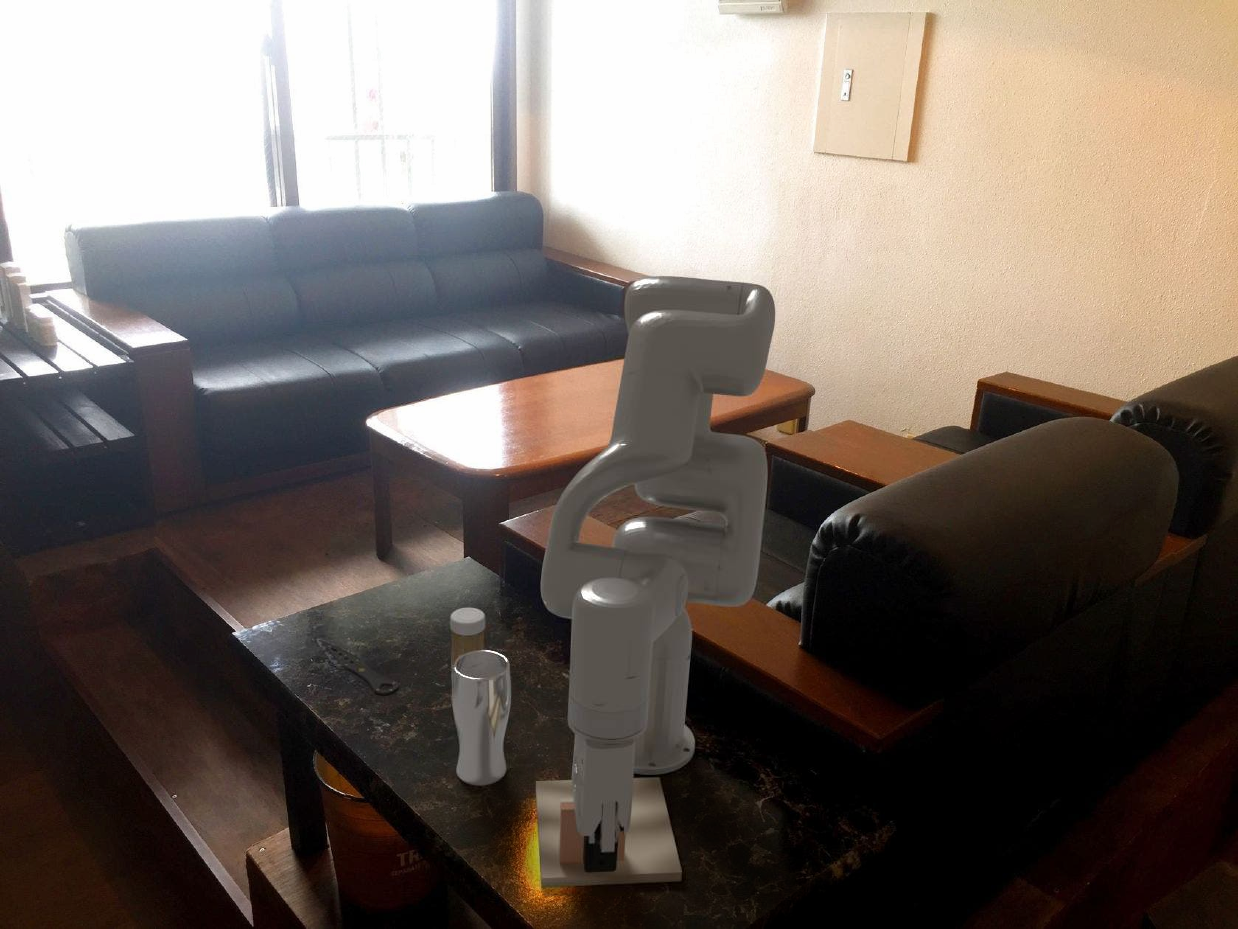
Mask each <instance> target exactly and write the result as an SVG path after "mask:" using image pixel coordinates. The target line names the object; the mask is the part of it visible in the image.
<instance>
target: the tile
mask: <svg viewBox="0 0 1238 929" xmlns="http://www.w3.org/2000/svg"><path fill="white" fill-rule="evenodd" d="M625 838H626V834H624V835H623V834H622V832H621V833H620V827H618V851H617V861H624V853H625ZM583 846H584V836H582V835H581V834H580V833H579V832H578V830H577V825H576V817H575V809H574V800H573V798H561V799H560V821H559V849H558V853H559V863H576V862H583Z"/></svg>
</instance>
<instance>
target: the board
mask: <svg viewBox="0 0 1238 929" xmlns="http://www.w3.org/2000/svg"><path fill="white" fill-rule="evenodd" d="M561 798H573V790H572V779H567V780H566V779H565V780H564V779H563V780H561V779H560V780H536V781H535V801H536V802H535V803H536V817H537V819H536V820H537V838H538V854H539V868H540V870H539V871H540V872H539V873H540V888H556V887H576V886H598V885H602V886H603V885H625V884H644V883H648V884H649V883H667V882H681V881H682V878H683V876H682V875H683V871H682V866H681V862H680V859H679V854H678V848H677V846H676V842H675V836H674V833H673V830H672V829H673V828H672V824H671V820H670V817H669V812H668V807H667V803H666V800H665V796H664V791H663V786H662V783H661V778H660V777H657V776H656V777H634V778H633V795H632V809H631V820H630V827H629V830H628V832H627V833H626V838H625V853H624V861H617V866H616V870H615V871H613V872H591V873H587V872H585V871H584V863H583V862H576V863H559V853H558V849H559V821H560V799H561Z"/></svg>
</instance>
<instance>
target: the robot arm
mask: <svg viewBox="0 0 1238 929" xmlns="http://www.w3.org/2000/svg"><path fill="white" fill-rule="evenodd" d="M624 297H625V298H624V318H625V324H626V328H627V334H628V337H627V343H626V348H625V354H624V361H623V365H622V371H621V376H620V377H621V378H620V384H619V388H618V394H617V398H616V399H617V401H616V406H615V411H614V417H613V422H612V431H611V436H610V439H609V443H608V444H607V446H606V447H605V448H604V449H603V450H602V451H601V452H600V453H598V455H596V456H595V457H594V458H593V459H591V460H590V461H588V463H586V464H585V465H584V466H583V467H582V468H581V469H580V470H578V472H577V473H576V474H575V476H574V477H573V478H572V479H571V481H570V482H569V483H568V485H567V486H566V487H565V489H564V491H563V492H562V494H561V496H560V497H559V499H558V501H557V503H556V506H555V509H554V511H553V514H552V517H551V522H550V526H549V532H548V537H547V543H546V547H545V552H544V557H543V562H542V567H541V578H540V594H541V599H542V602H543V604H544V606H545V608H546V609H547V610H548V611H549V612H550V613H552V614H553V615H556V616H558V617H561V618H564V619H569V620H571V630H570V632H571V633H570V634H571V635H570V637H571V638H570V659H569V660H570V661H569V662H570V663H569V684H568V685H569V686H568V687H569V688H568V701H567V702H568V703H567V704H568V706H567V724H568V727H569V728H570V730H571V731H572V732H573V733H574V744H573V745H574V746H573V760H572V769H571V770H572V771H571V780H572V790H573V800H574V809H575V817H576V825H577V830H578V832H579V833H580V834H581V835H582V836H584V846H583V863H584V871H585V872H587V873H591V872H613V871H615V870H616V866H617V851H618V827H620V833H621V832H622V834H623V835H624V834H626V833H627V832H628V830H629V827H630V820H631V809H632V795H633V778H635V777H634V776H635V775H634V774H637V775H645V776H648V775H649V776H655V775H657V776H658V775H664V774H668V773H672V772H674V771H677V770H680V769H681V768H682V767H684V766H685V765H687V764H688V763H689V762H690V761H691V760H692V758H693V756H694V754H695V748H696V739H695V737H694V733H693V732H692V730H691V729H690V728H689V727H688V726H687V724H685V722H686V710H687V700H688V690H689V689H688V687H689V686H688V685H689V678H690V677H689V676H690V675H689V674H690V663H691V652H692V644H693V643H692V640H693V627H692V623H691V622H692V621H691V619H690V617H689V614H688V612H687V610H686V604H687V603H689V602H690V603H694V604H695V603H696V604H706V605H711V606H720V607H734V608H735V607H741V606H744V605H745V604H747V603H748V602H749V601H750V600H751V598H752V596H753V594H754V592H755V589H756V585H757V579H758V576H759V575H758V573H759V566H760V556H761V546H762V537H763V536H762V535H763V528H764V527H763V526H764V519H765V508H766V498H767V489H768V488H767V487H768V459H767V454H766V451H765V448H764V447H763V445H762V444H761V443H760V442H759V441H757V440H756V439H754V438H752V437H748V436H745V435H741V434H733V433H722V432H715V431H712V429H711V417H712V406H713V400H714V395H719V396H720V395H721V396H730V397H747V396H748V397H749V396H751V395H752V394H753V393H755V392H756V391H757V390H758V388H759V386H760V384H761V382H762V379H763V377H764V374H765V371H766V368H767V363H768V359H769V353H770V348H771V343H772V340H773V336H774V330H775V324H776V305H775V300H774V297H773V295H772V293H771V292H770V290H769V289H768V288H767V287H765V286H763V285H761V284H758V283H757V284H756V283H749V282H744V281H743V282H742V281H730V280H717V279H709V278H699V277H687V276H686V277H685V276H671V275H670V276H669V275H663V276H662V275H658V276H657V275H655V276H647V277H642V278H639V279H636V280H635V281H634V282H632V283H631V284H630V285H629V286H628V288H627V290H626V293H625V295H624ZM632 485H634V488H635V492H636V494H637V496H638V497H639V498H640V499H641V500H643V501H644V502H647V503H650V504H653V505H656V506H662V507H669V508H674V509H676V508H677V509H684V510H692V511H698V512H707V513H715V514H719V515H720V516H722V518H724V520H725V525H724V524H723V525H722V524H714V523H707V522H700V521H693V520H687V519H686V520H685V519H678V518H677V519H676V518H671V517H669V518H668V517H663V516H662V517H661V516H639V517H638V516H637V517H635V518H632V519H631V518H630V519H629V520H627V521H625V522H624V523H623V524H621V525H620V526H619V527H618V529H617V530H616V532H615V534H614V536H613V541H612V545H611V546H608V545H601V544H600V545H599V544H592V543H585V542H584V543H583V542H579V538H580V534H581V530H582V527H583V525H584V522H585V520H586V518H587V516H588V515H589V513H590V512H591V511H592V510H593V508H594V507H595V506H596V505H597V504H598V503H600V501H602V500H604V499H605V498H606V497H608V496H610V495H612V494H613V493H615V492H618V491H619V490H622V489H624V488H627V487H630V486H632Z"/></svg>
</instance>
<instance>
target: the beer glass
mask: <svg viewBox="0 0 1238 929" xmlns="http://www.w3.org/2000/svg"><path fill="white" fill-rule="evenodd" d="M510 664H511V663H510V661H509V659H508V658H507V657H506V656H505V655H504V654H501V653H500V652H496V651H493V650H486V649H484V650H479V651H472V652H468V653H466V654H463V655H461V656H460V657H459V658H457V659H456V661H455V663H454V673H453V685H452V684H451V697H452V702H451V703H452V711H453V717H454V723H455V727H456V731H457V736H458V741H459V742H458V743H459V754H458V760H457V764H456V770H455V772H456V775H457V777H458V778H459V779H460V780H461V781H462V782H463V783H465V784H468V785H472V786H479V787H480V786H481V787H482V786H489V785H492V784H495V783H496V782H498V781H500V780H502V778H504V777H505V774H506V772H507V763H506V758H505V754H504V752H505V751H504V740H505V734H506V732H507V731H506V730H507V725H508V720H509V718H510V717H509V716H510V712H511V711H510V710H511V703H512V701H511V700H512V699H511V698H512V683H511V682H512V680H511V672H510V671H511V668H510V666H511V665H510Z"/></svg>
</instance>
